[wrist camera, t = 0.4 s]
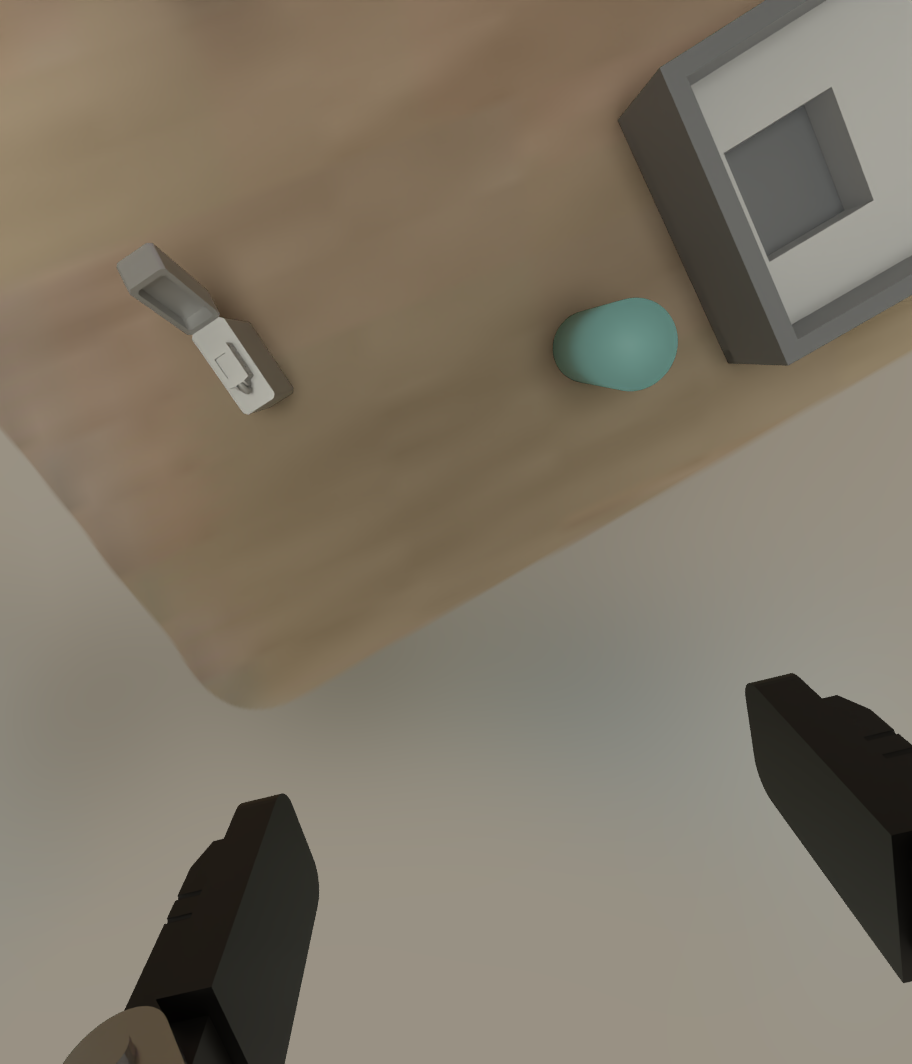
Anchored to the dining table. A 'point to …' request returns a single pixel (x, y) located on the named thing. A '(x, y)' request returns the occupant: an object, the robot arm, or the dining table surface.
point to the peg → (617, 345)
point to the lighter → (206, 328)
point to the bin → (786, 170)
